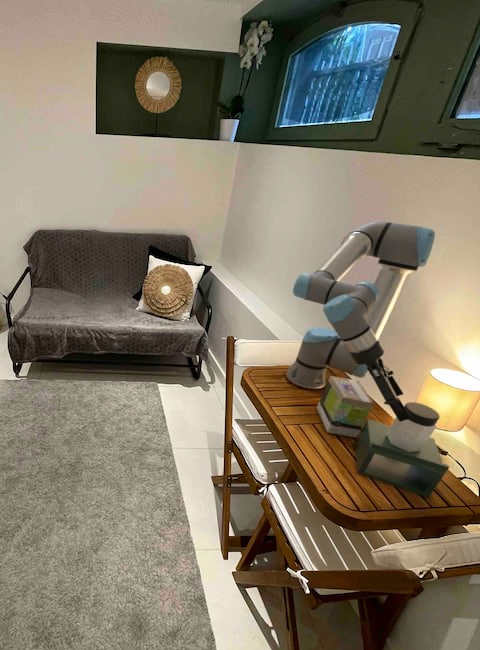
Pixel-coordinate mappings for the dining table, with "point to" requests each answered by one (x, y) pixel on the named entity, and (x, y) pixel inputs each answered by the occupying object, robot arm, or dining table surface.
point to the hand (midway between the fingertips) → (401, 406)
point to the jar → (413, 428)
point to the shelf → (398, 461)
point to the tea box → (344, 406)
